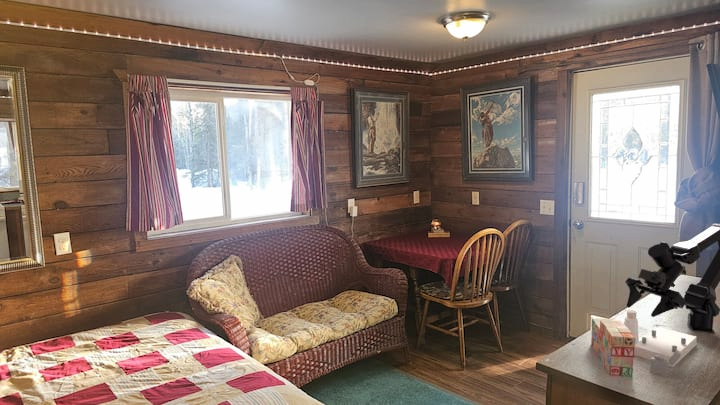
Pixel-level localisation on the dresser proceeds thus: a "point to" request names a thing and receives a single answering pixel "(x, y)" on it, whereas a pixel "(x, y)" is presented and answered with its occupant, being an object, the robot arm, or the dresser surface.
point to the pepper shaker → (632, 324)
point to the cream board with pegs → (664, 344)
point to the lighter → (663, 363)
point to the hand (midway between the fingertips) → (639, 311)
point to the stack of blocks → (613, 346)
